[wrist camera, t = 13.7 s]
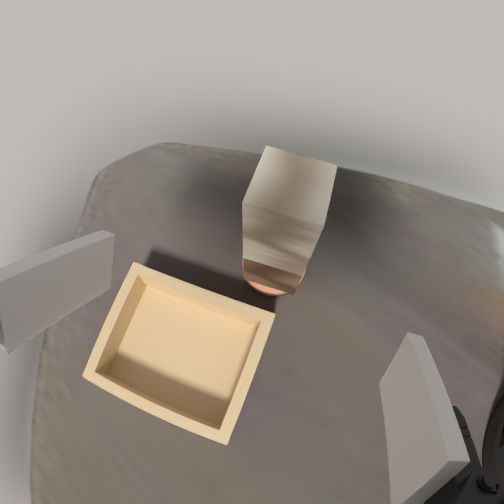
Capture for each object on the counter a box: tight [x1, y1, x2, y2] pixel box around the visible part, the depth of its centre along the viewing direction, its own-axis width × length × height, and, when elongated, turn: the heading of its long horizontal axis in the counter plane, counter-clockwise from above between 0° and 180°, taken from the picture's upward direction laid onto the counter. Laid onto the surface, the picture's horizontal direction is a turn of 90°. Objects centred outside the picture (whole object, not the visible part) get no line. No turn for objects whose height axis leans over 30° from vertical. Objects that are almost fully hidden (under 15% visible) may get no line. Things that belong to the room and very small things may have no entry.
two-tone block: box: [242, 146, 337, 295], centre depth 25 cm, size 5×5×13 cm
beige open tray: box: [82, 262, 275, 445], centre depth 27 cm, size 14×12×4 cm
